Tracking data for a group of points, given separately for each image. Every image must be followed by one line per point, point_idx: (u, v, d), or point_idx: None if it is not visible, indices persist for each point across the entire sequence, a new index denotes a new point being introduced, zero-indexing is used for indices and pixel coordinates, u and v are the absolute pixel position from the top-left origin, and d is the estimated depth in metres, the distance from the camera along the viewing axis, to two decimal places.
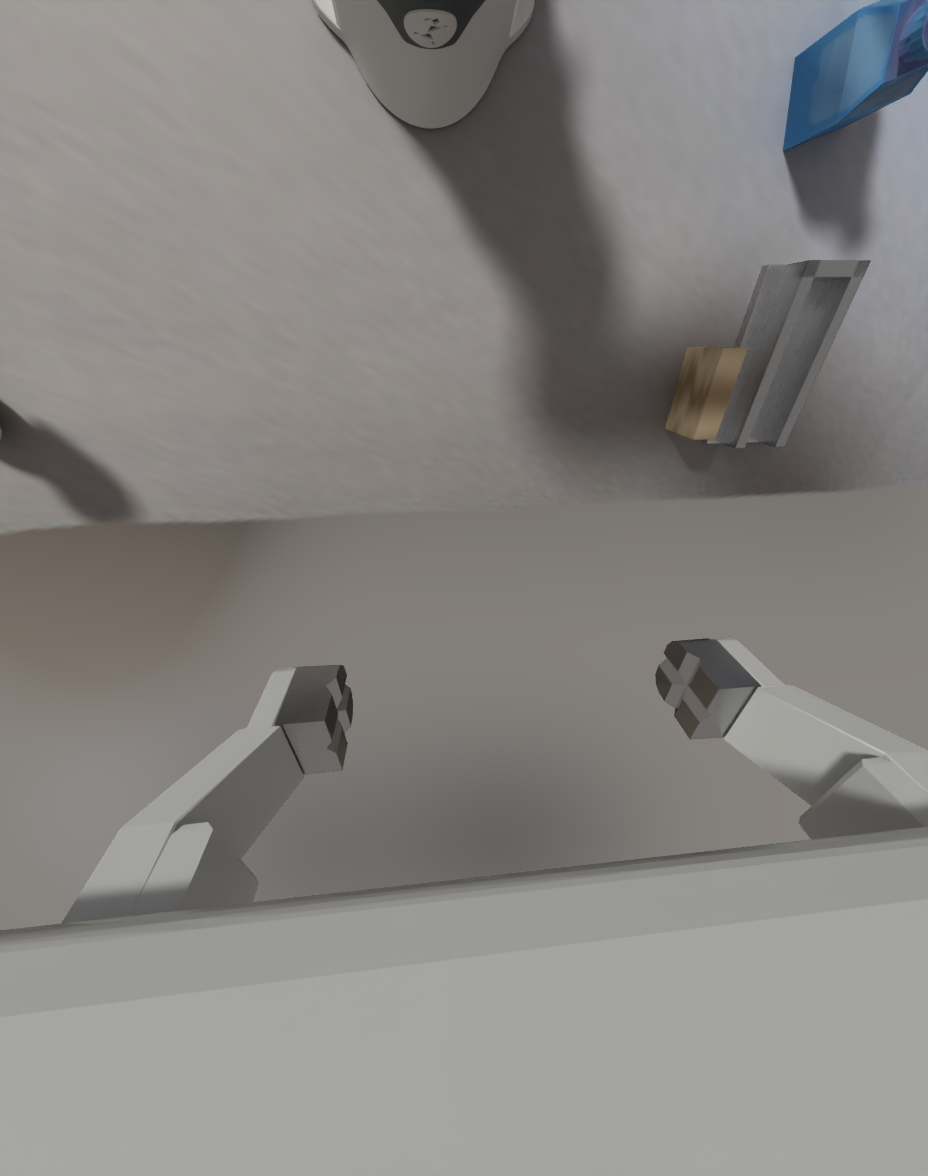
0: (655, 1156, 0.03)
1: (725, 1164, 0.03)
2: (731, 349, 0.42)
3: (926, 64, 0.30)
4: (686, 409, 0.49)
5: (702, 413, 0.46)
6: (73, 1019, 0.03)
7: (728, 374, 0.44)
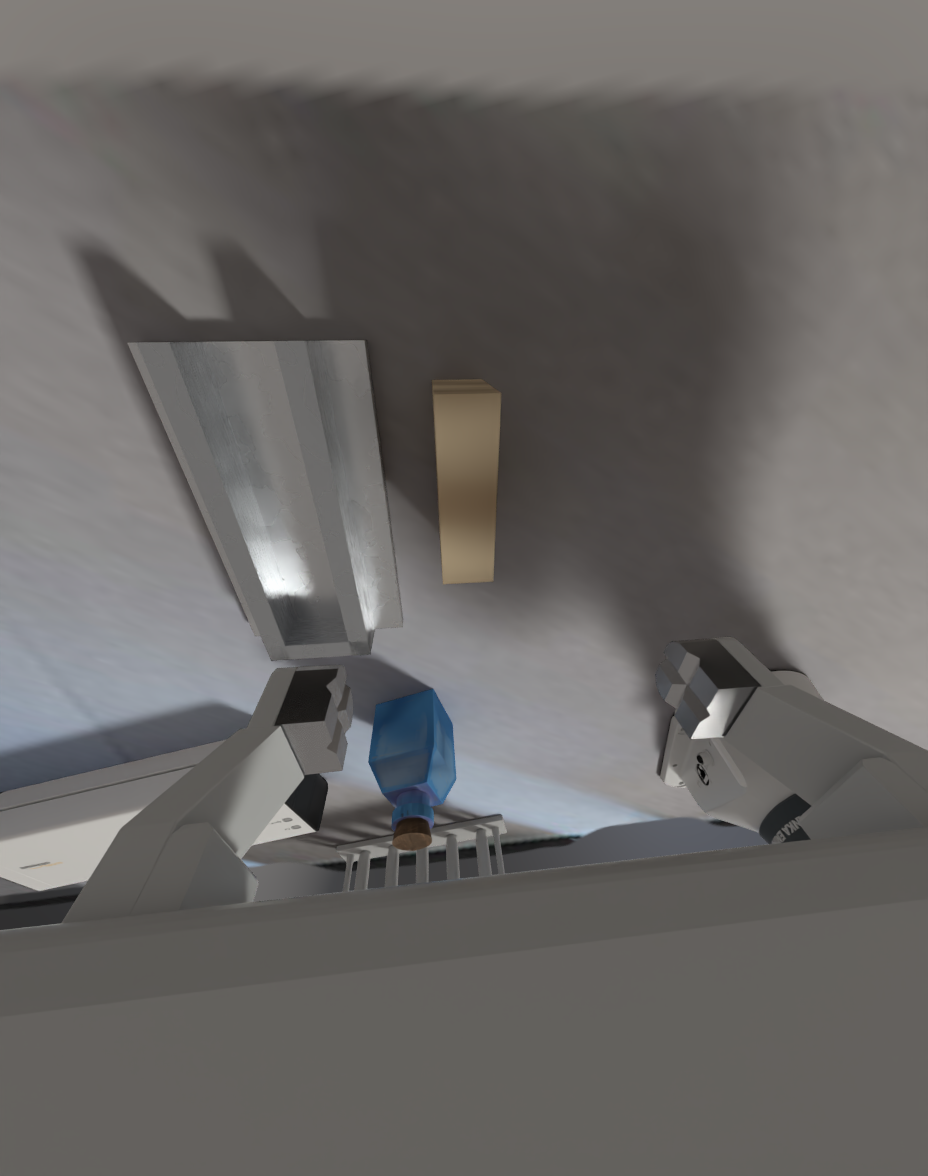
0: (655, 1156, 0.03)
1: (725, 1164, 0.03)
2: (475, 580, 0.22)
3: (389, 792, 0.31)
4: None
5: (496, 464, 0.18)
6: (73, 1019, 0.03)
7: (463, 543, 0.20)
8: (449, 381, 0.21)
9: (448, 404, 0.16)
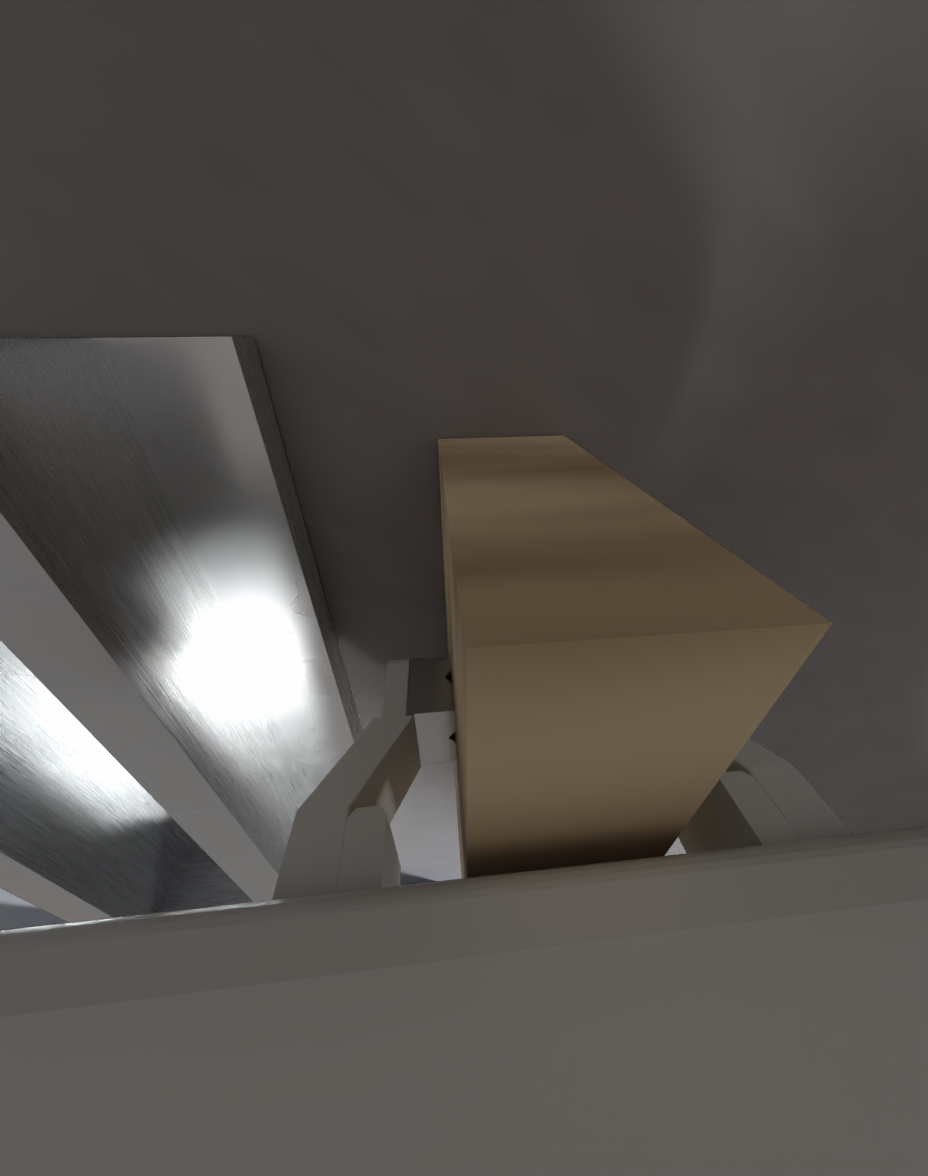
0: (655, 1156, 0.03)
1: (725, 1164, 0.03)
2: None
3: None
4: None
5: (690, 810, 0.05)
6: (73, 1019, 0.03)
7: None
8: (487, 449, 0.08)
9: (542, 679, 0.03)
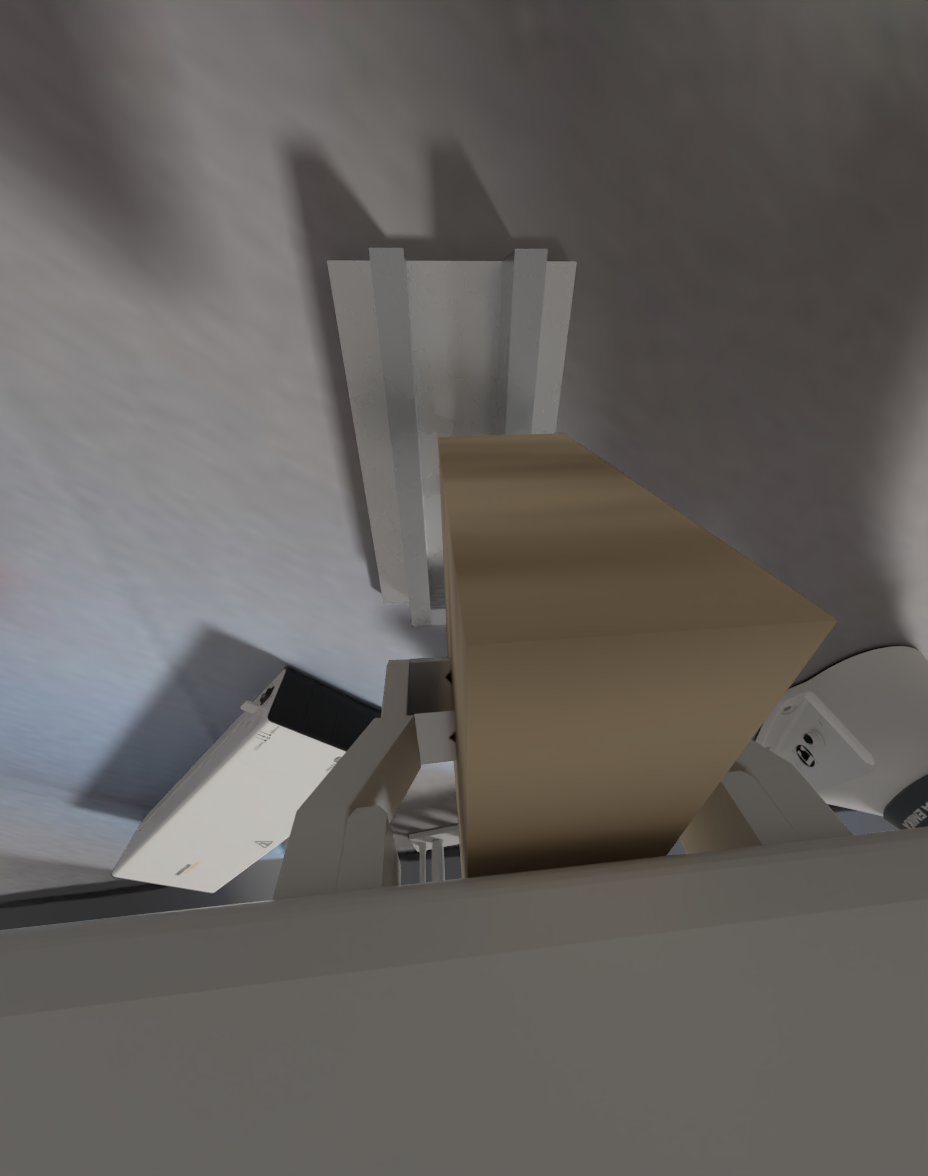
0: (655, 1156, 0.03)
1: (725, 1164, 0.03)
2: None
3: None
4: None
5: (692, 810, 0.05)
6: (73, 1019, 0.03)
7: None
8: (487, 447, 0.08)
9: (544, 677, 0.03)
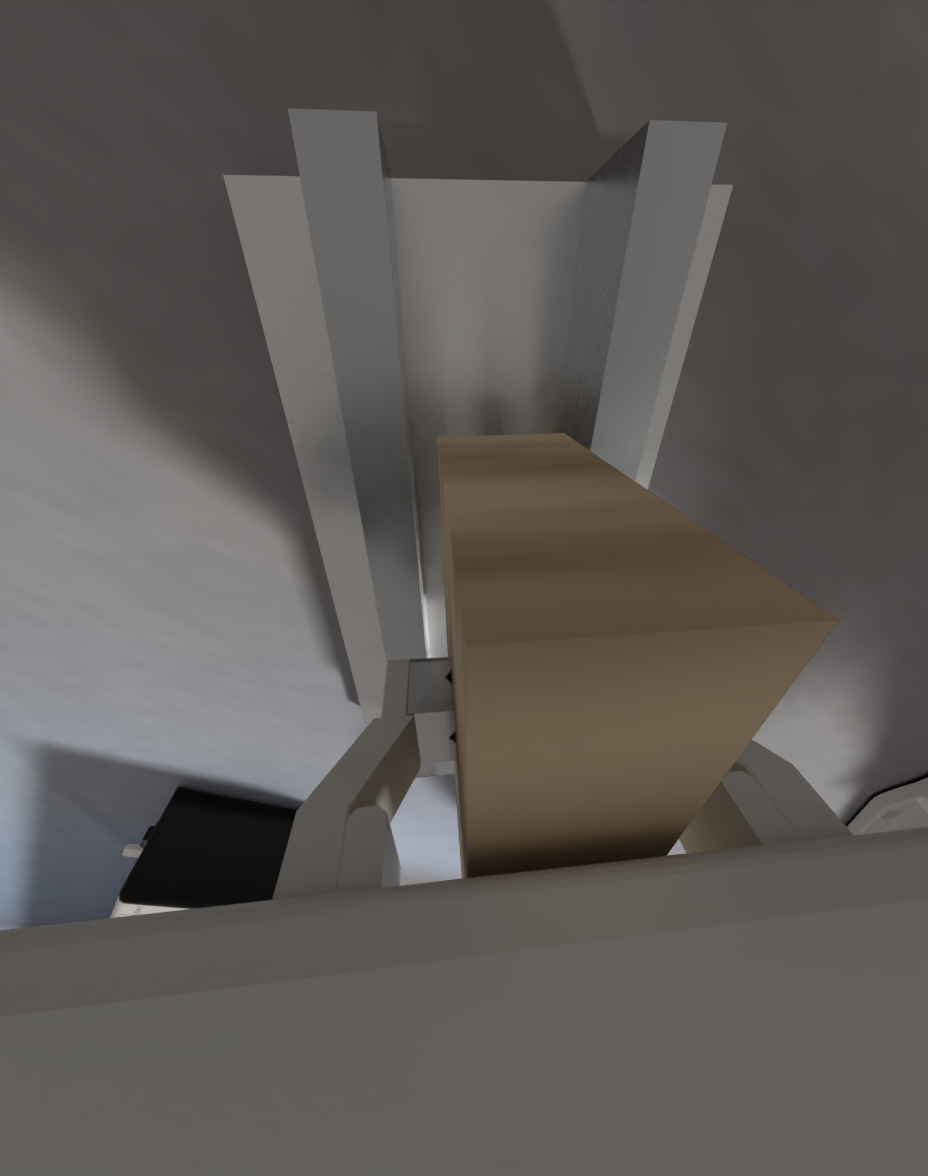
0: (655, 1156, 0.03)
1: (725, 1164, 0.03)
2: None
3: None
4: None
5: (692, 810, 0.05)
6: (73, 1019, 0.03)
7: None
8: (487, 447, 0.08)
9: (544, 677, 0.03)
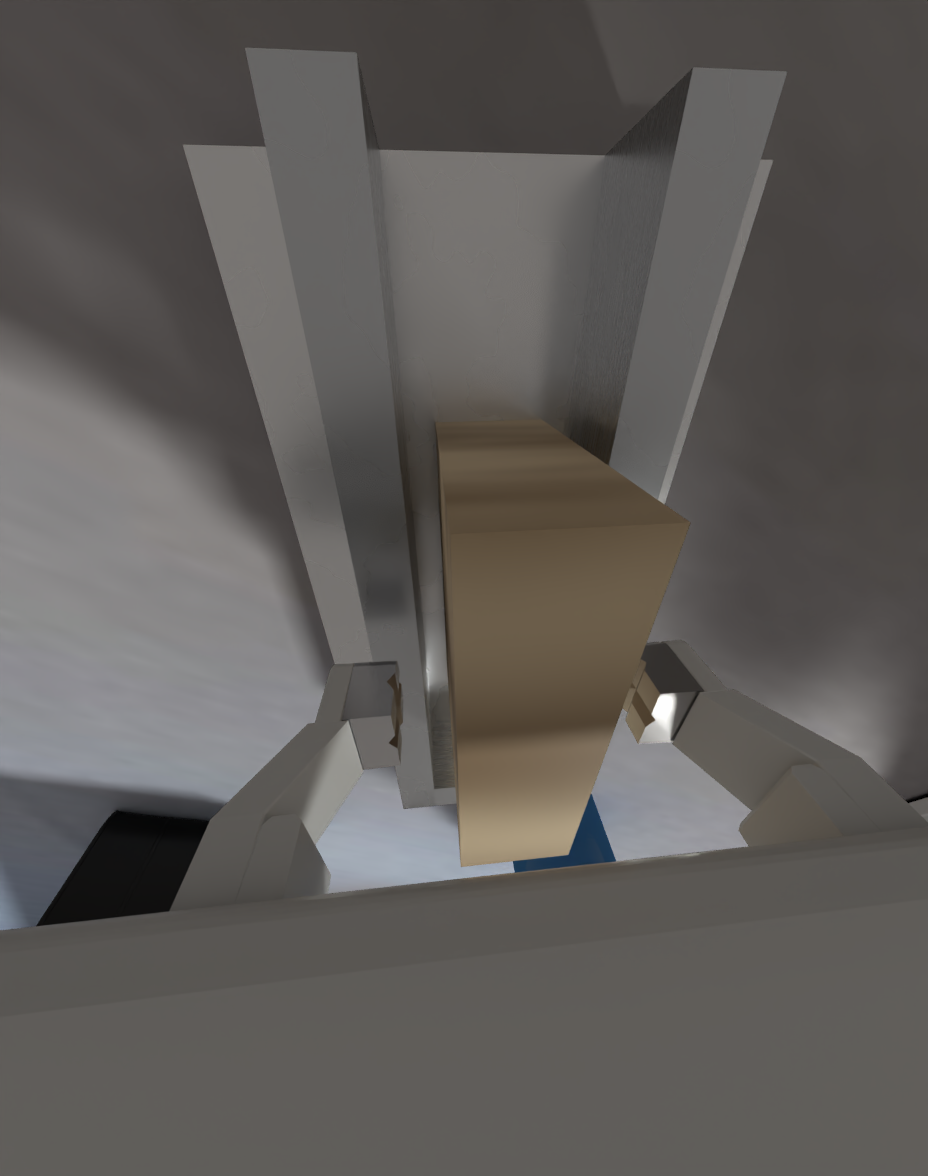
0: (655, 1156, 0.03)
1: (725, 1164, 0.03)
2: (532, 857, 0.10)
3: None
4: None
5: (622, 690, 0.06)
6: (73, 1019, 0.03)
7: (512, 816, 0.09)
8: (475, 429, 0.09)
9: (501, 560, 0.05)
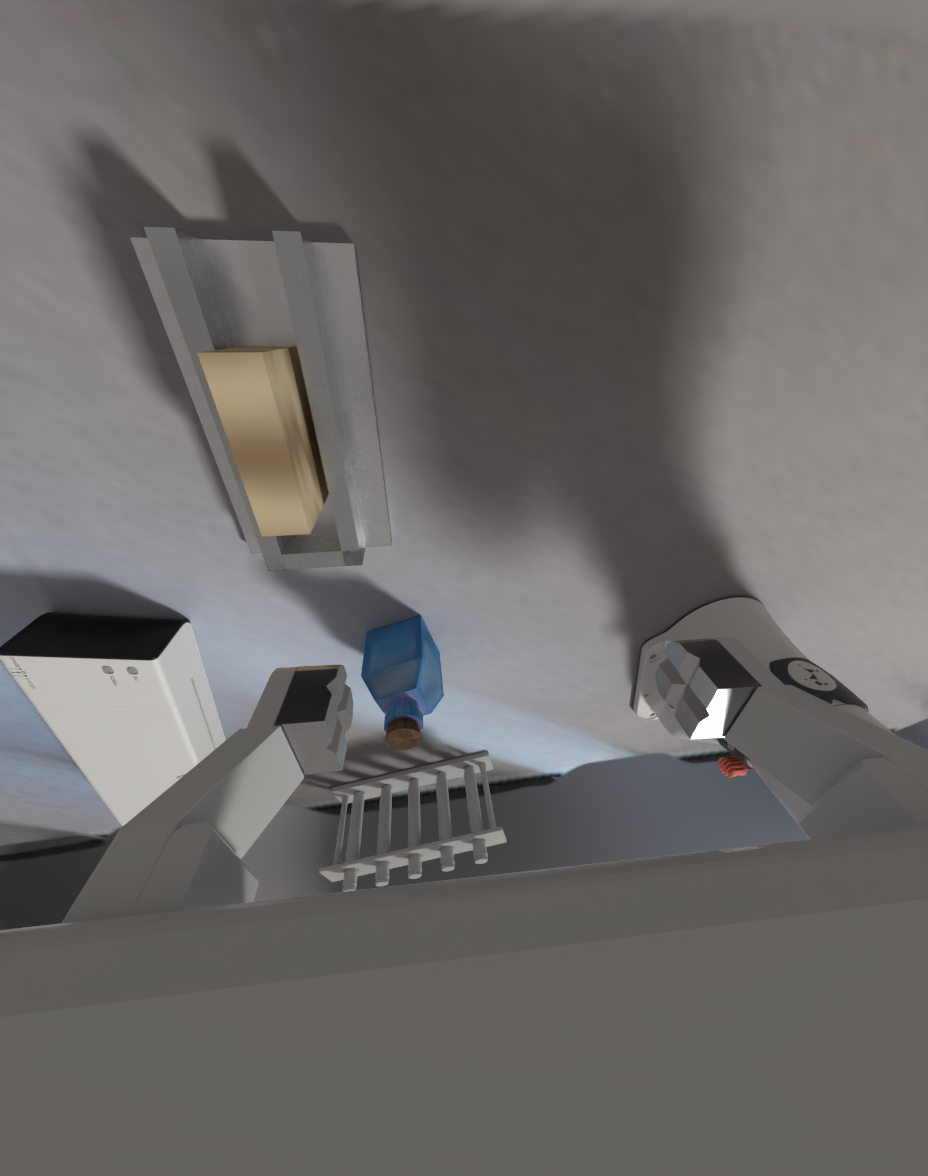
0: (655, 1156, 0.03)
1: (725, 1164, 0.03)
2: (292, 532, 0.24)
3: (381, 699, 0.33)
4: (294, 409, 0.23)
5: (277, 420, 0.20)
6: (73, 1019, 0.03)
7: (269, 496, 0.22)
8: None
9: (214, 362, 0.18)
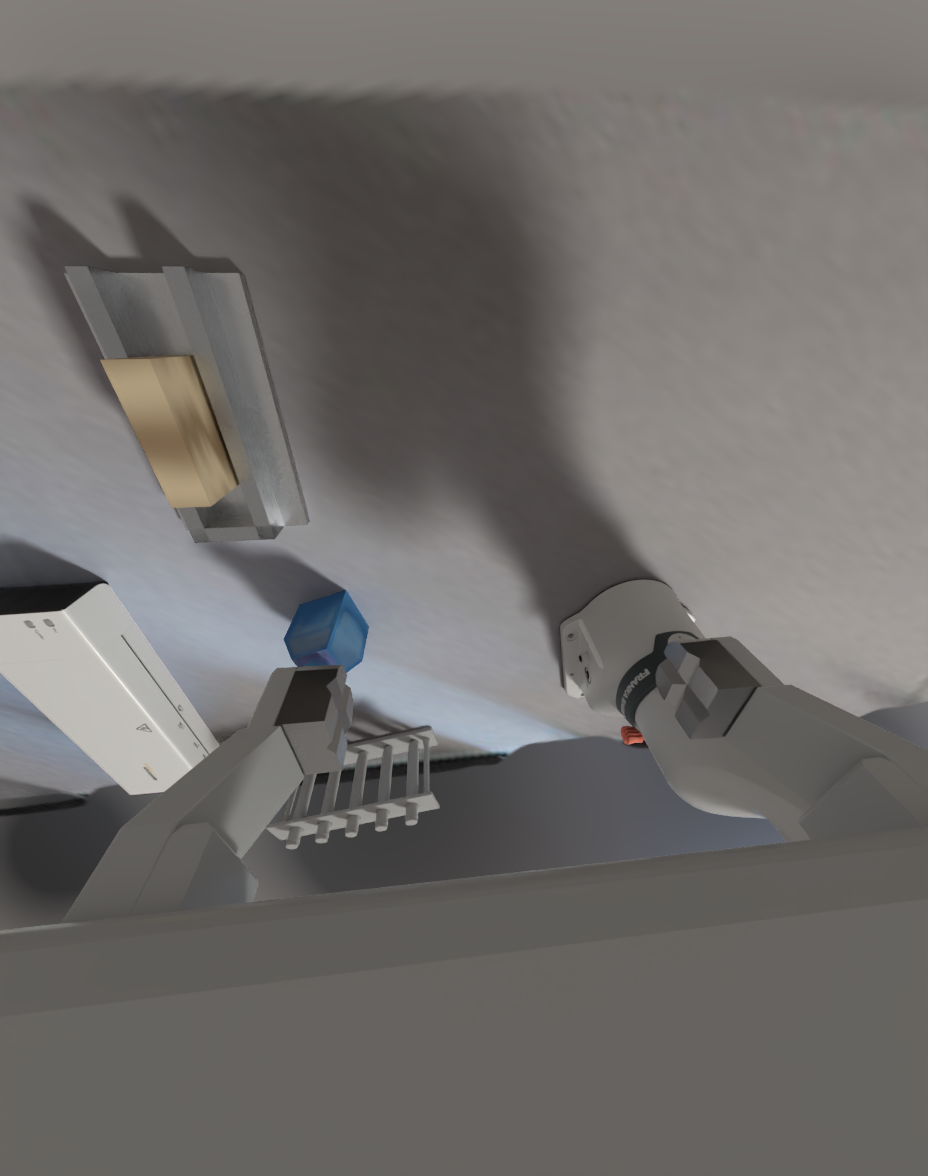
0: (655, 1156, 0.03)
1: (725, 1164, 0.03)
2: (196, 505, 0.29)
3: (297, 658, 0.38)
4: (195, 404, 0.28)
5: (169, 412, 0.25)
6: (73, 1019, 0.03)
7: (172, 473, 0.28)
8: (168, 355, 0.28)
9: (113, 366, 0.24)
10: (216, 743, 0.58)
